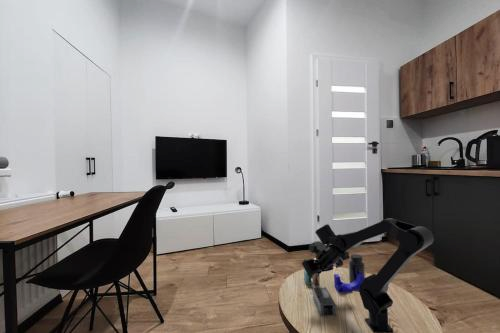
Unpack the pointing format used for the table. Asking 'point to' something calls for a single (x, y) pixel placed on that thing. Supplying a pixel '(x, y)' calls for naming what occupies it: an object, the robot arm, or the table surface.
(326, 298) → the gray rectangular tube
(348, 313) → the table surface
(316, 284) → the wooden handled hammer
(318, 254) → the robot arm
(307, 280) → the teal block with slot
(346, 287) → the cable clip
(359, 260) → the supplement bottle
